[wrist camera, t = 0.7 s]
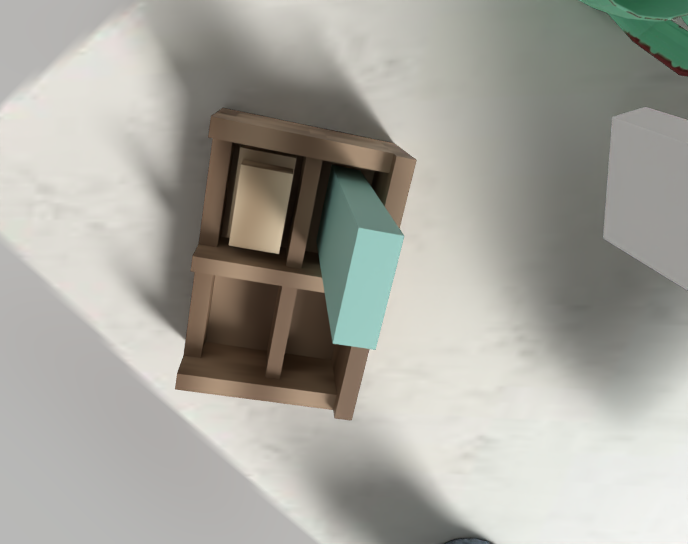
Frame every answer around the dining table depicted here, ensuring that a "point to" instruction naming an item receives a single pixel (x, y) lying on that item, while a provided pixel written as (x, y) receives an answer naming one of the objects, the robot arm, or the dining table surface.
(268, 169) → the offcut top
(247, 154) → the block
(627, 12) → the mug
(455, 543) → the moka pot
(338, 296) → the panel
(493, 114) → the dining table surface
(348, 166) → the rack
